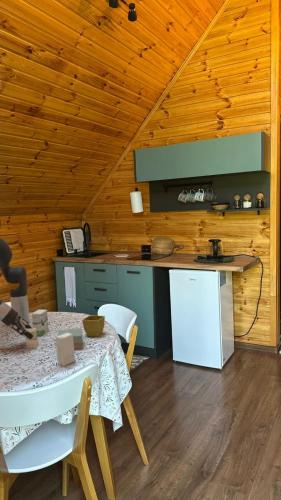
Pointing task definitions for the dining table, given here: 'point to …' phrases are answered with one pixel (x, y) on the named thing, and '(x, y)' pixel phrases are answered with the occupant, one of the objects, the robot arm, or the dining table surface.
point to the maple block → (31, 342)
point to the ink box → (40, 321)
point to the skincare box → (65, 349)
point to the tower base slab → (78, 346)
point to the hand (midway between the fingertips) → (33, 334)
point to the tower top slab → (76, 334)
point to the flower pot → (93, 325)
